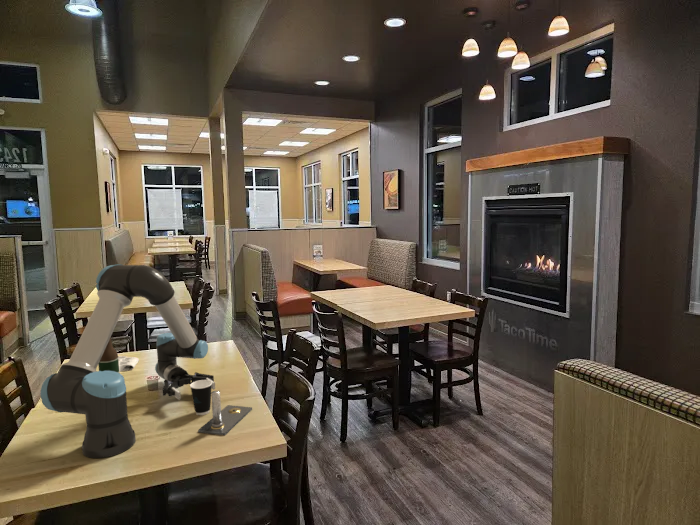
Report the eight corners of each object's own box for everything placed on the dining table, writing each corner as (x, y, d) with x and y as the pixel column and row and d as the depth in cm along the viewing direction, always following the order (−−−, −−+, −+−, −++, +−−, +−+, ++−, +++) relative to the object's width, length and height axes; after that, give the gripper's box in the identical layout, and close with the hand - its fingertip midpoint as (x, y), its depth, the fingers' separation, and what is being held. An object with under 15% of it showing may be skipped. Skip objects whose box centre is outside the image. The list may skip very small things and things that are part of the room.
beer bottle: (119, 385, 198) (114, 330, 195) (98, 387, 195) (94, 332, 192) (120, 378, 205) (116, 326, 202) (101, 381, 202) (96, 328, 199)
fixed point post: (219, 428, 155) (217, 394, 154) (210, 427, 156) (208, 393, 154) (225, 423, 158) (223, 390, 157) (215, 422, 159) (213, 389, 158)
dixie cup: (215, 406, 174) (213, 378, 173) (212, 415, 167) (211, 386, 165) (193, 408, 173) (191, 380, 172) (189, 418, 165) (188, 388, 164)
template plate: (224, 435, 152) (224, 432, 152) (198, 432, 155) (198, 429, 155) (252, 409, 171) (252, 407, 171) (228, 407, 174) (227, 404, 174)
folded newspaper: (132, 373, 213) (97, 376, 210) (140, 360, 231) (108, 363, 227) (131, 366, 213) (97, 369, 210) (140, 354, 230) (108, 357, 227)
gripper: (205, 377, 198) (228, 391, 182) (145, 393, 182) (164, 410, 166) (204, 360, 197) (227, 373, 181) (144, 374, 181) (163, 390, 165)
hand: (197, 390), depth 174 cm, fingers open, 13 cm apart
